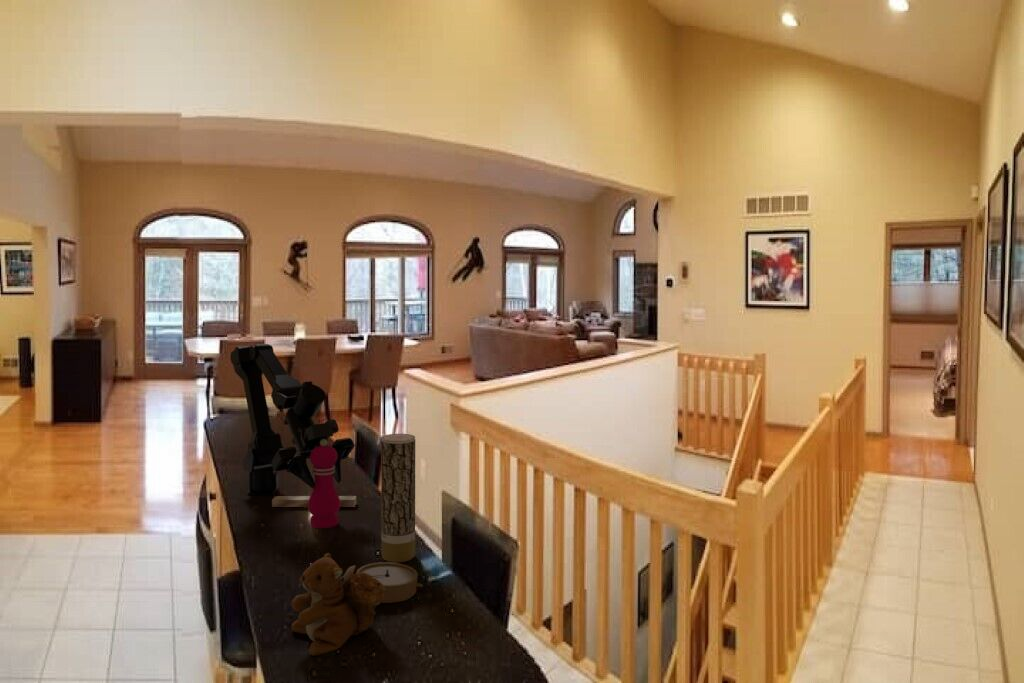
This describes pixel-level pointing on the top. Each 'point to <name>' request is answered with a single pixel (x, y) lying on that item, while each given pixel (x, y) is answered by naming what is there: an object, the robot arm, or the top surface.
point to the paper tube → (398, 497)
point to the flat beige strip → (303, 501)
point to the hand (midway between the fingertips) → (327, 484)
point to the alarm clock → (390, 579)
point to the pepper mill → (323, 487)
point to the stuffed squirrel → (334, 605)
